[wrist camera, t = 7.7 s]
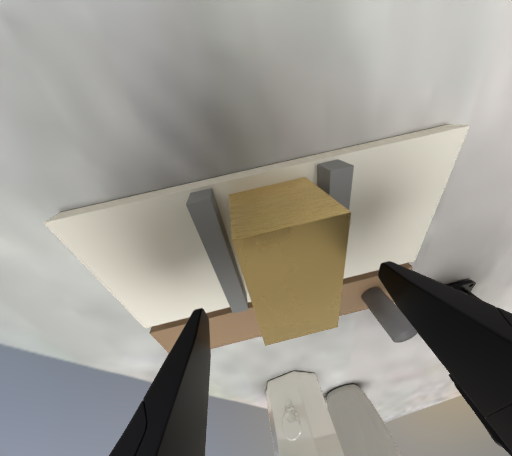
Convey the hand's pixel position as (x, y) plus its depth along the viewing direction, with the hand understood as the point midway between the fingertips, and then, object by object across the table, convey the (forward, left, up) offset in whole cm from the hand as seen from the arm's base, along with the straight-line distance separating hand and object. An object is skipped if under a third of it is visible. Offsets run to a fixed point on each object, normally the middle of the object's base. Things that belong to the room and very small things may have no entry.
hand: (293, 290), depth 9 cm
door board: (0, +4, -5) cm, 6 cm away
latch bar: (0, 0, -4) cm, 4 cm away
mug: (-10, +43, -6) cm, 45 cm away
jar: (+1, +30, -6) cm, 31 cm away
